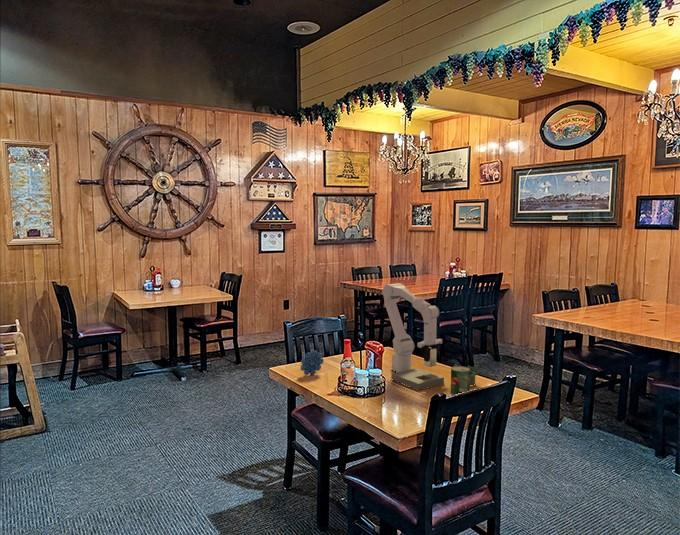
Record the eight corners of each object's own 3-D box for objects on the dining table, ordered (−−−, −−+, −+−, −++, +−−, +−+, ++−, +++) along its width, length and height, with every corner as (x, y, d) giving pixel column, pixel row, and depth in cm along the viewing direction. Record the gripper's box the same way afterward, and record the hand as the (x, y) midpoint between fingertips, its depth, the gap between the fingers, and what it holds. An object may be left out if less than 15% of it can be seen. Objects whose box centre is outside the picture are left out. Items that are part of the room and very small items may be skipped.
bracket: (479, 384, 227) (480, 365, 227) (464, 387, 223) (465, 368, 222) (465, 379, 235) (465, 360, 235) (450, 382, 231) (451, 363, 230)
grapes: (320, 371, 248) (320, 347, 247) (325, 375, 241) (325, 350, 240) (298, 373, 244) (298, 349, 243) (301, 377, 237) (301, 352, 236)
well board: (391, 379, 234) (391, 373, 233) (416, 374, 243) (416, 368, 243) (418, 390, 219) (418, 383, 219) (443, 383, 228) (444, 377, 228)
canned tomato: (446, 392, 216) (447, 367, 215) (458, 389, 221) (458, 364, 220) (461, 397, 210) (461, 372, 209) (473, 394, 214) (473, 368, 214)
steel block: (423, 364, 235) (424, 348, 234) (429, 363, 237) (430, 347, 236) (430, 366, 231) (430, 350, 231) (436, 365, 234) (436, 348, 233)
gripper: (425, 335, 225) (424, 364, 227) (447, 331, 234) (446, 359, 235) (414, 332, 231) (414, 361, 232) (436, 328, 240) (435, 356, 241)
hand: (429, 360), depth 234 cm, fingers closed on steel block, 4 cm apart
